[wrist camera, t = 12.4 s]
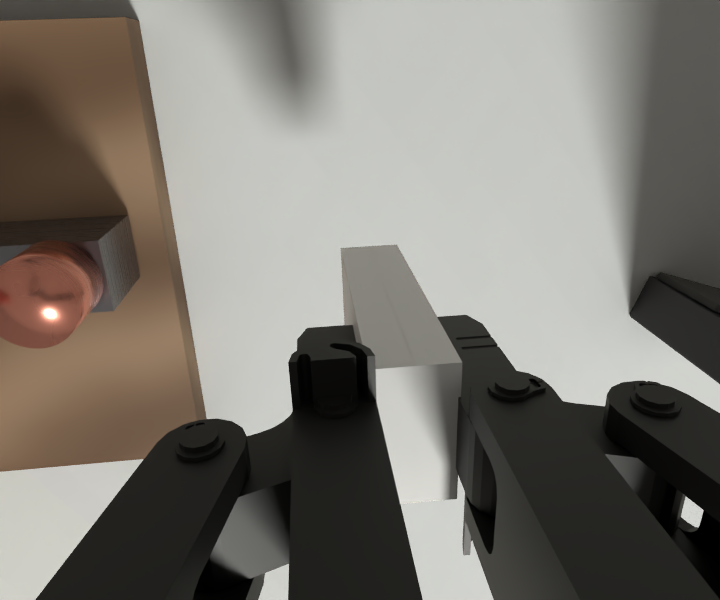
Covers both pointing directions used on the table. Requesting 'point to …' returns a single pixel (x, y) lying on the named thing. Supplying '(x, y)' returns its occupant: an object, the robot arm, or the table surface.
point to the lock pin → (62, 275)
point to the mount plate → (92, 199)
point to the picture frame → (683, 319)
